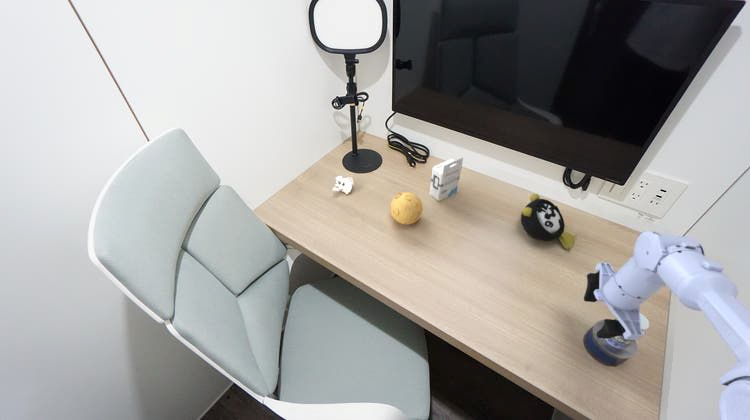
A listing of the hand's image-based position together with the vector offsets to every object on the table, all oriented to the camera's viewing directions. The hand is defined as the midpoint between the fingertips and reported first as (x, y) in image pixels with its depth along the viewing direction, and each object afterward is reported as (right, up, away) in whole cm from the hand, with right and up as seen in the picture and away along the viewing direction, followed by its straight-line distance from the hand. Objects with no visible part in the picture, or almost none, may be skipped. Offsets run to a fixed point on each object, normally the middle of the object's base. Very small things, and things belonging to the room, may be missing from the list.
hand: (595, 317), depth 64 cm
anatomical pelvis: (-56, +30, +47) cm, 79 cm away
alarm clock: (+4, +14, +30) cm, 34 cm away
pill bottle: (+6, -5, +2) cm, 8 cm away
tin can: (+6, -9, +6) cm, 12 cm away
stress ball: (-35, +19, +36) cm, 53 cm away
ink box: (-22, +28, +44) cm, 56 cm away
